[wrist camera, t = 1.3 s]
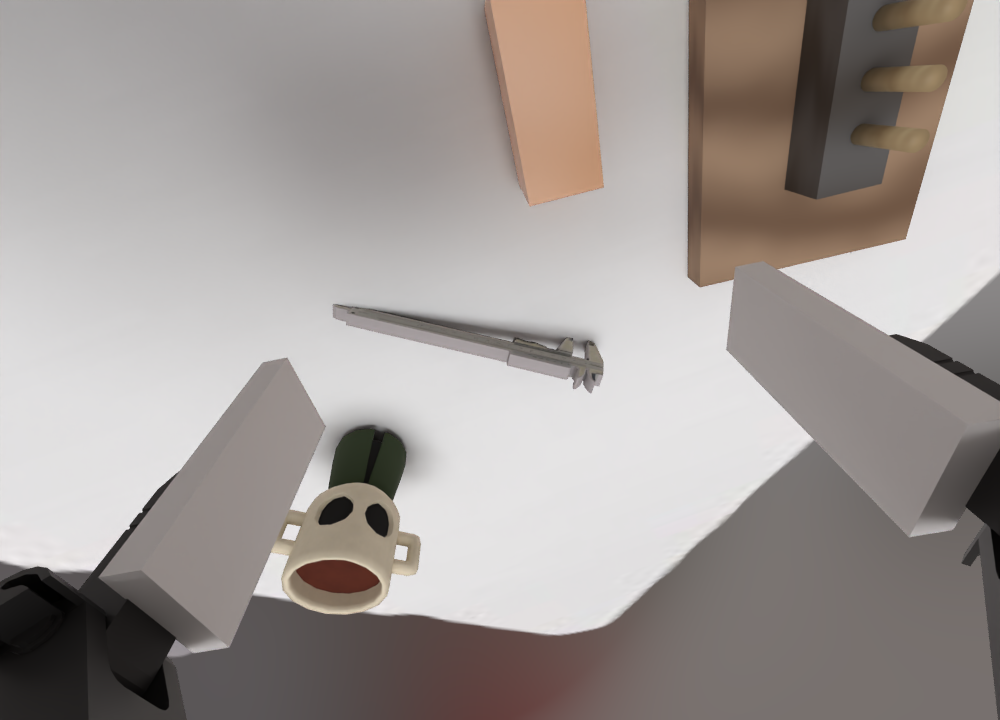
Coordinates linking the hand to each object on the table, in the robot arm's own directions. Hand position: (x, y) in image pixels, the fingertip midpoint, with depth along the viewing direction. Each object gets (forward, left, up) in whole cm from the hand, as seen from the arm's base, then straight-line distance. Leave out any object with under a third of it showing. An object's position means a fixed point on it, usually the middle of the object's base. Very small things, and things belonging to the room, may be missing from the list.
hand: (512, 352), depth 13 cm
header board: (-3, +20, -19) cm, 28 cm away
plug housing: (-6, +4, -19) cm, 20 cm away
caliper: (+9, -4, -19) cm, 21 cm away
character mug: (+18, -16, -19) cm, 31 cm away
